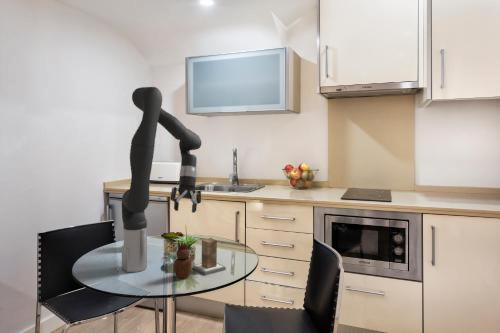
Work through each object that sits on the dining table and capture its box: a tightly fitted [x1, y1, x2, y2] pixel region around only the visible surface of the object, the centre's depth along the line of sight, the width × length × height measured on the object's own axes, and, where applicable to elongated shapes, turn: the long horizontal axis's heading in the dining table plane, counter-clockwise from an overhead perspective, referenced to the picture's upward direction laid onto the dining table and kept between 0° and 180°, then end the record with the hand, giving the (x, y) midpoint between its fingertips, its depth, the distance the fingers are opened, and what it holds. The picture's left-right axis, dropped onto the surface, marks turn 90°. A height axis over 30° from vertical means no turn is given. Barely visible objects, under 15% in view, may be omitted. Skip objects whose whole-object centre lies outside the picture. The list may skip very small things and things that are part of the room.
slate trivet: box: [192, 262, 227, 276], centre depth 145 cm, size 10×10×1 cm
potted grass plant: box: [173, 239, 193, 279], centre depth 136 cm, size 7×6×15 cm
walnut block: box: [201, 237, 218, 269], centre depth 145 cm, size 4×4×11 cm
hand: (185, 211), depth 157 cm, fingers open, 8 cm apart
